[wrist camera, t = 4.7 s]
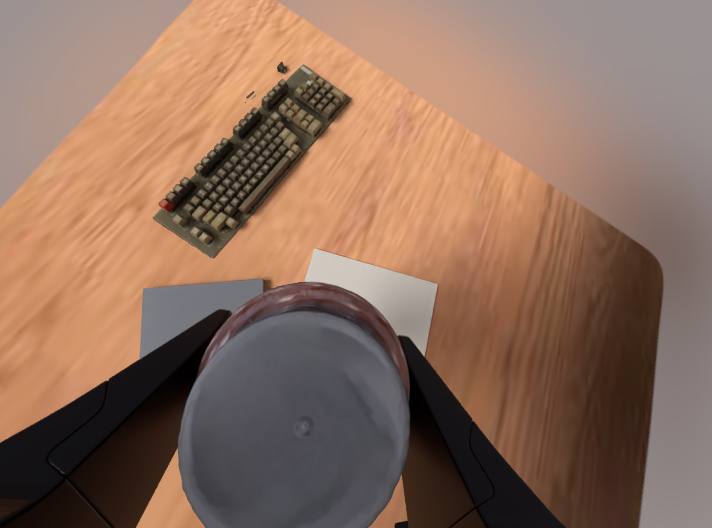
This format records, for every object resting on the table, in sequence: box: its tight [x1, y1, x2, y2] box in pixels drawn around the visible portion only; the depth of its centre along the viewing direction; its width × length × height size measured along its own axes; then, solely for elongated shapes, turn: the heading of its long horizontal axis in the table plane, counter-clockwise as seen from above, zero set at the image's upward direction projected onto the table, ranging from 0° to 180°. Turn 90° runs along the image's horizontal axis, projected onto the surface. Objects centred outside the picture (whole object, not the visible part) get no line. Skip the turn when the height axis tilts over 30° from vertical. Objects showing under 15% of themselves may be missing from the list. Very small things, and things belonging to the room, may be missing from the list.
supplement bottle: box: [178, 282, 410, 528], centre depth 10 cm, size 6×6×11 cm
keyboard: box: [153, 62, 351, 258], centre depth 24 cm, size 22×9×2 cm, turn 146°
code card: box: [304, 249, 438, 357], centre depth 23 cm, size 12×12×1 cm
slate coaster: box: [140, 279, 264, 359], centre depth 20 cm, size 9×9×1 cm
